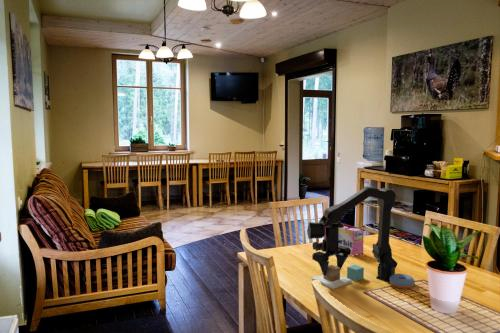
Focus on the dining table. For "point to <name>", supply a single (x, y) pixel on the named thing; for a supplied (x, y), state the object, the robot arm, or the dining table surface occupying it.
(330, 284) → the white square plate
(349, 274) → the teal block
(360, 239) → the gum box
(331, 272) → the walnut block
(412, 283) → the doughnut
